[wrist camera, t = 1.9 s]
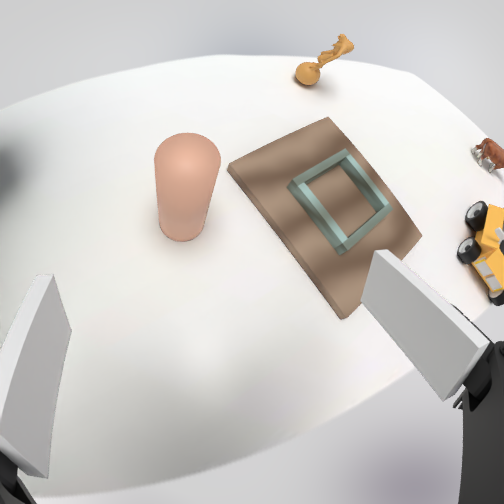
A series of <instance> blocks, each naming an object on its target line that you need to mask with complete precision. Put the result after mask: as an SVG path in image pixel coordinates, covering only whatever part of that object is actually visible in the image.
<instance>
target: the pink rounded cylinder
mask: <svg viewBox="0 0 504 504" xmlns="http://www.w3.org/2000/svg"><path fill="white" fill-rule="evenodd" d="M220 163H221V157H220V153H219V151H218V149H217V147H216V146H215V145H214V143H213V142H211V141H210V140H209V139H207V138H206V137H204V136H201V135H199V134H194V133H181V134H176V135H173V136H171V137H169V138H167V139H166V140H165V141H163V142H162V143H161V144H160V146H159V147H158V149H157V151H156V153H155V158H154V164H155V179H156V192H157V203H158V214H159V224H160V227H161V230H162V231H163V233H164V234H165V235H166V236H167V237H168V238H170V239H172V240H175V241H180V242H184V241H189V240H192V239H194V238H195V237H197V236H198V235H199V234H200V232H201V231H202V229H203V227H204V223H205V219H206V215H207V212H208V208H209V204H210V200H211V197H212V193H213V189H214V186H215V182H216V179H217V175H218V171H219V168H220Z"/></svg>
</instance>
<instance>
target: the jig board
mask: <svg viewBox="0 0 504 504" xmlns="http://www.w3.org/2000/svg"><path fill="white" fill-rule="evenodd" d="M227 171H228V172H229V173H230V175H231V176H232V177H233V178H234V180H235V181H236V182H237V183H238V185H239V186H240V187H241V189H242V190H243V191H244V192H245V194H246V195H247V196H248V197H249V199H250V200H251V201H252V203H253V204H254V205H255V206H256V208H257V209H258V210H259V212H260V213H261V214H262V215H263V217H264V218H265V219H266V221H267V222H268V223H269V224H270V226H271V227H272V228H273V230H274V231H275V232H276V234H277V235H278V236H279V238H280V239H281V240H282V241H283V243H284V244H285V245H286V247H287V248H288V249H289V251H290V252H291V253H292V255H293V256H294V257H295V259H296V260H297V261H298V263H299V264H300V265H301V267H302V268H303V269H304V271H305V272H306V273H307V275H308V276H309V277H310V279H311V280H312V281H313V283H314V284H315V285H316V287H317V288H318V289H319V291H320V292H321V293H322V295H323V296H324V298H325V299H326V300H327V302H328V303H329V304H330V306H331V307H332V308H333V310H334V311H335V313H336V314H337V315H338V317H339V318H340V319H344V318H347V317H348V316H349V315H350V314H351V313H352V312H353V311H354V310H355V309H356V308H357V307H358V306H359V305H360V304H361V303H362V302H361V301H360V300H361V297H362V293H363V290H364V287H365V283H366V280H367V276H368V273H369V269H370V266H371V262H372V258H373V254H374V251H375V250H386V249H387V250H389V251H390V252H391V253H392V254H393V255H395V256H396V257H397V258H398V259H400V260H402V259H403V258H404V257H405V256H406V255H407V254H408V252H409V251H410V250H411V249H412V248H413V247H414V245H415V244H416V243H417V242H418V241H419V239H420V238H421V237H422V234H421V233H420V231H419V230H418V228H417V227H416V226H415V224H414V223H413V221H412V220H411V218H410V217H409V215H408V214H407V213H406V211H405V210H404V208H403V207H402V206H401V204H400V203H399V201H398V200H397V199H396V197H395V196H394V195H393V193H392V192H391V191H390V189H389V188H388V187H387V185H386V184H385V183H384V182H383V180H382V179H381V178H380V176H379V175H378V174H377V173H376V171H375V170H374V169H373V168H372V166H371V165H370V164H369V163H368V162H367V160H366V159H365V158H364V157H363V155H362V154H361V153H360V152H359V151H358V150H357V148H356V147H355V146H354V145H353V144H352V143H351V141H350V140H349V139H348V138H347V137H346V136H345V135H344V133H343V132H342V131H341V130H340V129H339V128H338V127H337V126H336V125H335V124H334V122H333V121H332V120H331V119H330V118H329V117H326V118H324V119H322V120H319V121H317V122H315V123H312V124H310V125H308V126H306V127H303V128H301V129H299V130H297V131H295V132H292V133H290V134H288V135H286V136H284V137H282V138H280V139H277V140H275V141H273V142H271V143H269V144H267V145H265V146H263V147H261V148H259V149H257V150H255V151H253V152H251V153H249V154H247V155H245V156H243V157H241V158H239V159H237V160H235V161H233V162H231V163H229V166H228V169H227Z"/></svg>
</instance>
